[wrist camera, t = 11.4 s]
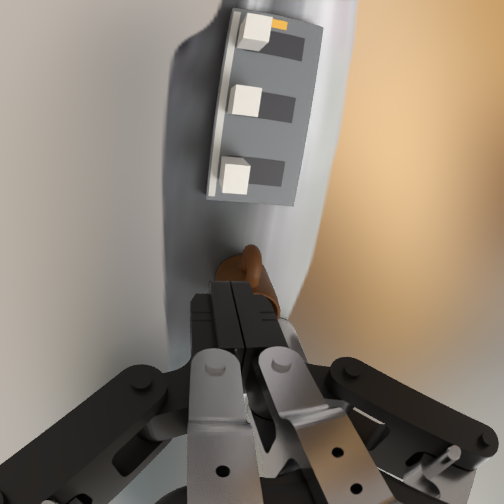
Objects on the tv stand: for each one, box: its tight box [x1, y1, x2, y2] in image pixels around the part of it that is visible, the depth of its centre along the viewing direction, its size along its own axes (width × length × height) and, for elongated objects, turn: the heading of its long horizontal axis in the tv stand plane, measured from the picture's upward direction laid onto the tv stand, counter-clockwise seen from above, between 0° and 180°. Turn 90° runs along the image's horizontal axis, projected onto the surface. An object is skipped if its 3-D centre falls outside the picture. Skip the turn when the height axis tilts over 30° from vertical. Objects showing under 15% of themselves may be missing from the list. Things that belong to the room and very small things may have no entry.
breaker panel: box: [206, 8, 323, 206], centre depth 31 cm, size 24×11×2 cm, turn 172°
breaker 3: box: [219, 156, 251, 195], centre depth 30 cm, size 3×2×5 cm
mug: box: [215, 244, 280, 321], centre depth 37 cm, size 12×8×9 cm, turn 175°
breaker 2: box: [227, 84, 262, 117], centre depth 27 cm, size 3×2×5 cm
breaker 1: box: [237, 13, 273, 51], centre depth 23 cm, size 3×2×5 cm
